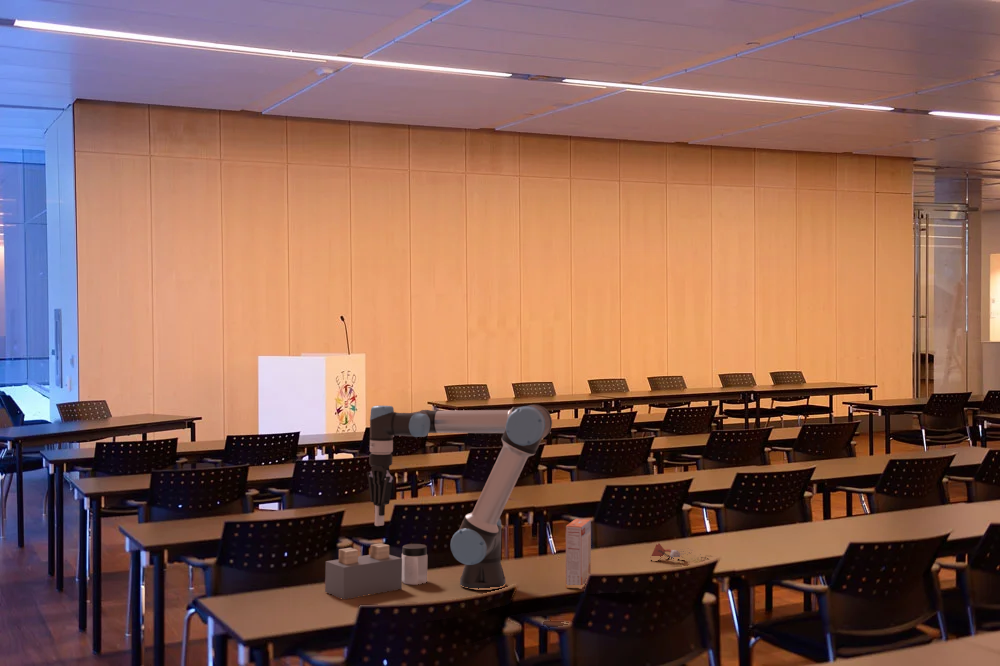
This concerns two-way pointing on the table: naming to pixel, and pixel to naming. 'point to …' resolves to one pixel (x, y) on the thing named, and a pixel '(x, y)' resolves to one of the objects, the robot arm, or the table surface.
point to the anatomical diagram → (660, 551)
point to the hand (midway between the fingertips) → (379, 525)
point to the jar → (414, 564)
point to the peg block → (363, 576)
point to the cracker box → (578, 551)
